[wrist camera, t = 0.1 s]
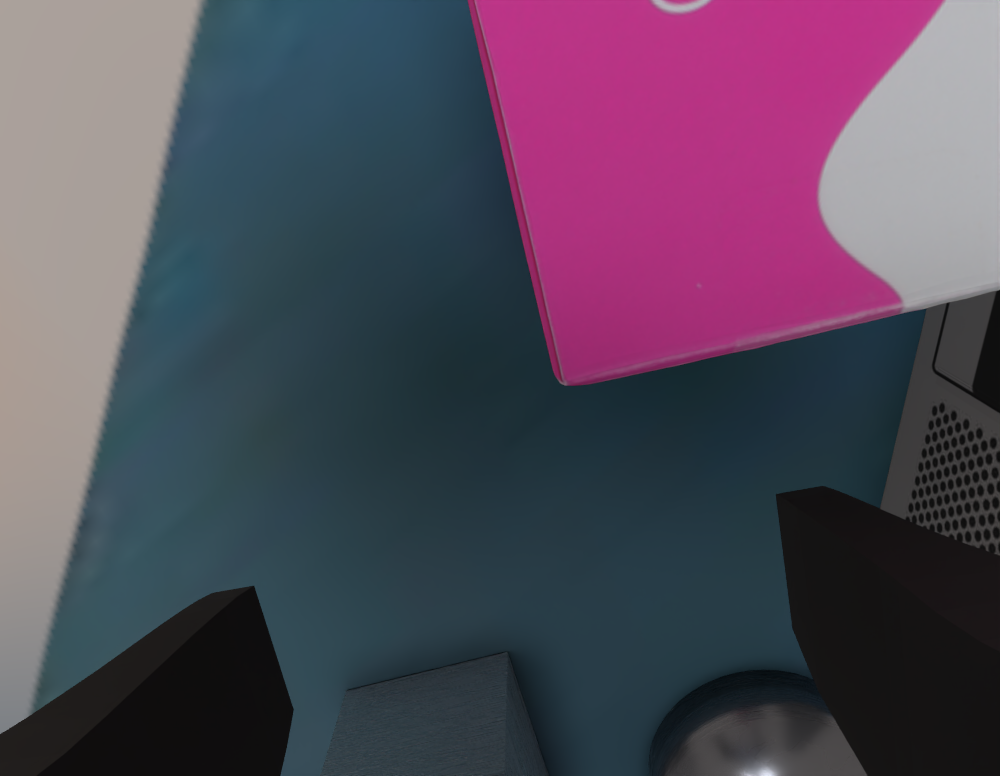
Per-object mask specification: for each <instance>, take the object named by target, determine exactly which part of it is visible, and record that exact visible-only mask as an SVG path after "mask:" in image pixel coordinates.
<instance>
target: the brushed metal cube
mask: <svg viewBox="0 0 1000 776" xmlns="http://www.w3.org/2000/svg"><path fill="white" fill-rule="evenodd" d="M320 776H549V775H548V772H547V769H546V766H545V763H544V760H543V757H542V754H541V751H540V748H539V745H538V742H537V739H536V736H535V733H534V730H533V727H532V724H531V721H530V718H529V715H528V712H527V709H526V706H525V703H524V700H523V697H522V694H521V691H520V688H519V685H518V682H517V679H516V676H515V673H514V670H513V667H512V664H511V661H510V658H509V655H508V652H505V653H501V654H497V655H493V656H489V657H485V658H480V659H476V660H472V661H468V662H464V663H460V664H456V665H451V666H447V667H443V668H439V669H435V670H431V671H427V672H422V673H418V674H414V675H410V676H406V677H402V678H398V679H394V680H389V681H385V682H381V683H377V684H373V685H369V686H365V687H360V688H356V689H352V690H348V691H346V693H345V696H344V699H343V703H342V706H341V709H340V712H339V716H338V719H337V722H336V726H335V729H334V732H333V736H332V739H331V742H330V745H329V749H328V752H327V755H326V759H325V762H324V765H323V769H322V772H321V775H320Z"/></svg>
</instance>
